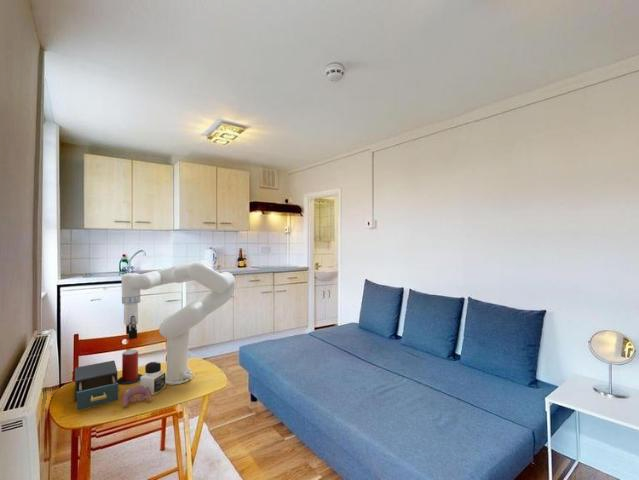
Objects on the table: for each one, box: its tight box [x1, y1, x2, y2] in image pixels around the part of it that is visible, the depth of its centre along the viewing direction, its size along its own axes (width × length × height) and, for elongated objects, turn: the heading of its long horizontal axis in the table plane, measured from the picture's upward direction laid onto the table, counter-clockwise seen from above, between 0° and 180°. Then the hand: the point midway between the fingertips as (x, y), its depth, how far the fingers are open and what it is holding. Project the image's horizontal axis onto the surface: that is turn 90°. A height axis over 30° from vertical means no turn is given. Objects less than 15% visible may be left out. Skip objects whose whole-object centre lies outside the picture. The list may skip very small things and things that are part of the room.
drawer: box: [76, 374, 119, 411], centre depth 129 cm, size 19×13×7 cm
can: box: [121, 349, 139, 382], centre depth 150 cm, size 6×6×13 cm
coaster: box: [117, 373, 144, 386], centre depth 150 cm, size 10×10×1 cm
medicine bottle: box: [139, 361, 166, 396], centre depth 140 cm, size 7×7×12 cm
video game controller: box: [122, 385, 152, 409], centre depth 130 cm, size 10×5×7 cm, turn 123°
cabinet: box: [74, 359, 119, 402], centre depth 140 cm, size 16×15×9 cm
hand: (131, 336), depth 149 cm, fingers open, 9 cm apart
